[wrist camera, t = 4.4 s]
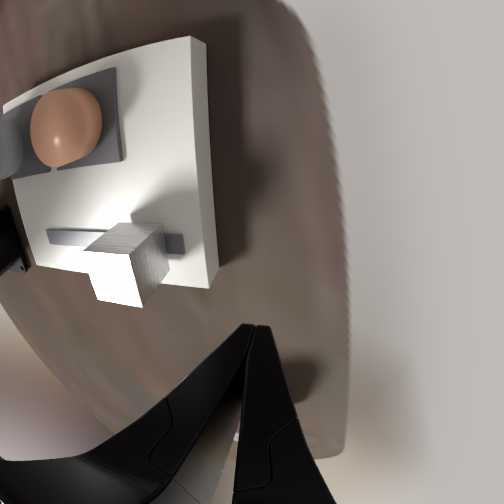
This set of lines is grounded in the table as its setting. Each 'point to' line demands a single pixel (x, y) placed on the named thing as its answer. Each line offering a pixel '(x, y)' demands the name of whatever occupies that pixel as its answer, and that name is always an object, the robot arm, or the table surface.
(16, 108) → the console
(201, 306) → the table surface
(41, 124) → the terracotta button
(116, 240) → the slider knob
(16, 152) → the grey button
